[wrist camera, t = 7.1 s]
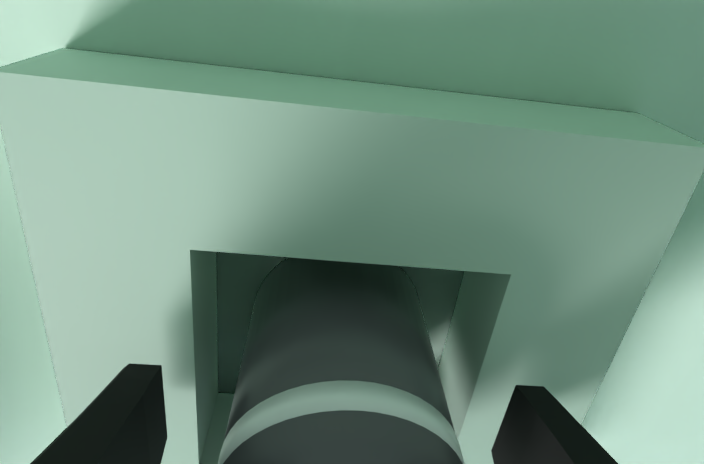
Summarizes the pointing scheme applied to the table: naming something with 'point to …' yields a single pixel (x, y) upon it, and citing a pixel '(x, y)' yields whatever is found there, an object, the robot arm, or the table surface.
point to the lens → (338, 372)
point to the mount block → (330, 221)
